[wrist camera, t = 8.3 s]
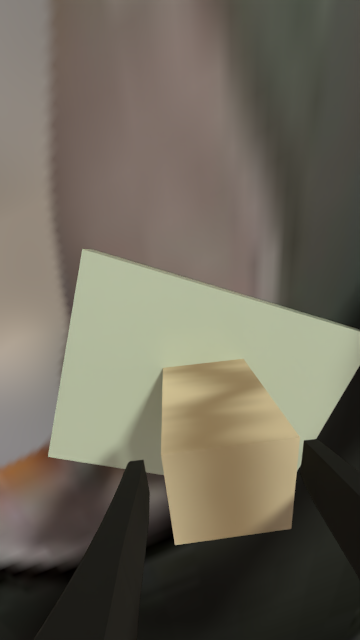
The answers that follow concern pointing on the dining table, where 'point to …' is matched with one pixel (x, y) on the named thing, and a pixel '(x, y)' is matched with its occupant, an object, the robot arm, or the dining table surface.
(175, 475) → the maple block
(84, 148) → the dining table surface
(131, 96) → the dining table surface
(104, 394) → the green tile
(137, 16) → the dining table surface
